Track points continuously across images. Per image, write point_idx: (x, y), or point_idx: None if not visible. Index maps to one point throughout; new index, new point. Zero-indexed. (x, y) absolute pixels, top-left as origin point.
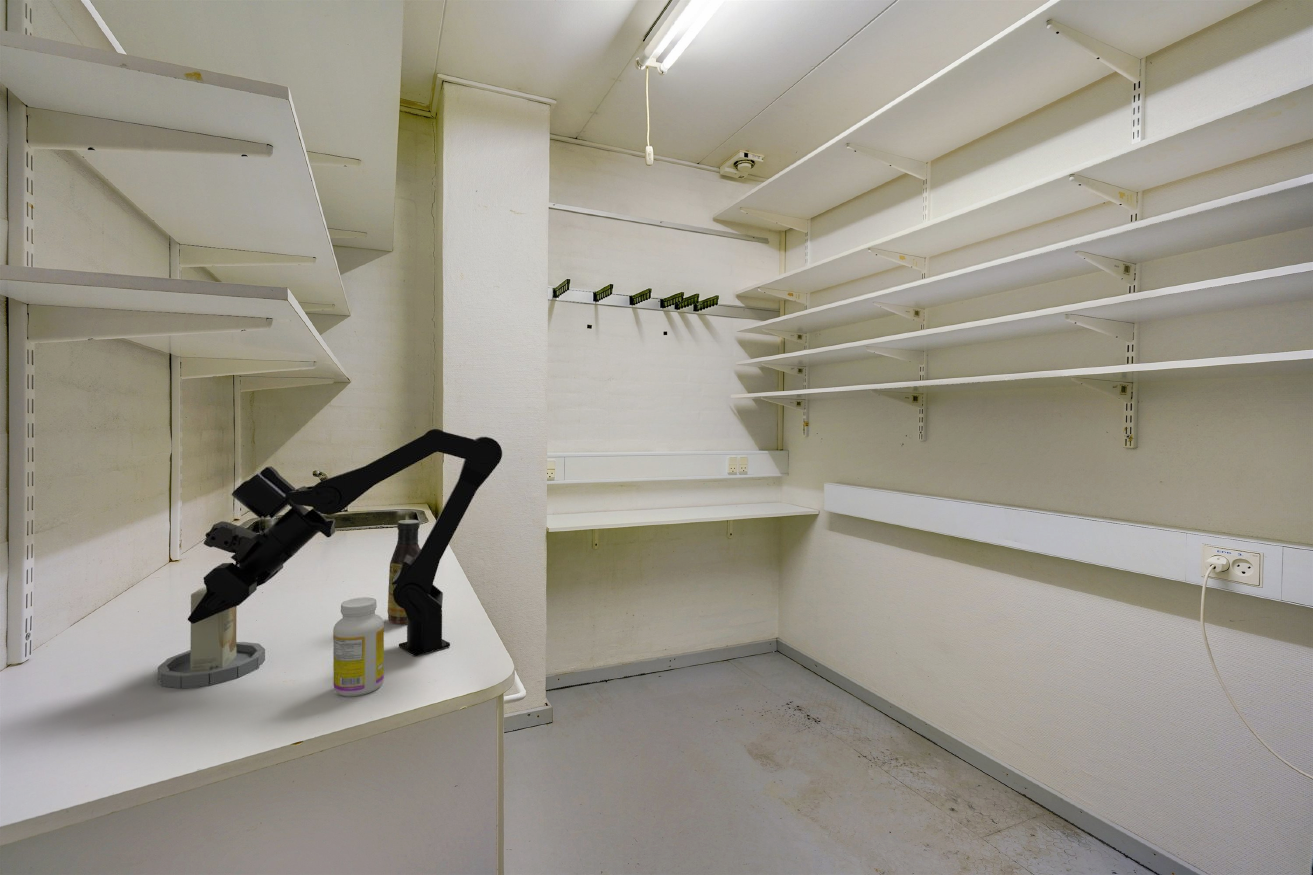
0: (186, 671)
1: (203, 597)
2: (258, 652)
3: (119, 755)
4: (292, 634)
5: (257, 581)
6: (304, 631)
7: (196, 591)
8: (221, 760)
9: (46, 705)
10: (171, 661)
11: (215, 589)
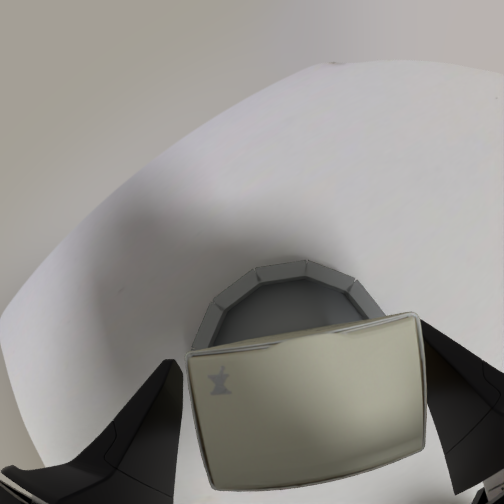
0: (265, 322)
1: (96, 441)
2: None
3: (40, 356)
4: None
5: (459, 477)
6: None
7: (263, 346)
8: (37, 447)
9: (178, 171)
10: (283, 278)
11: (21, 492)
